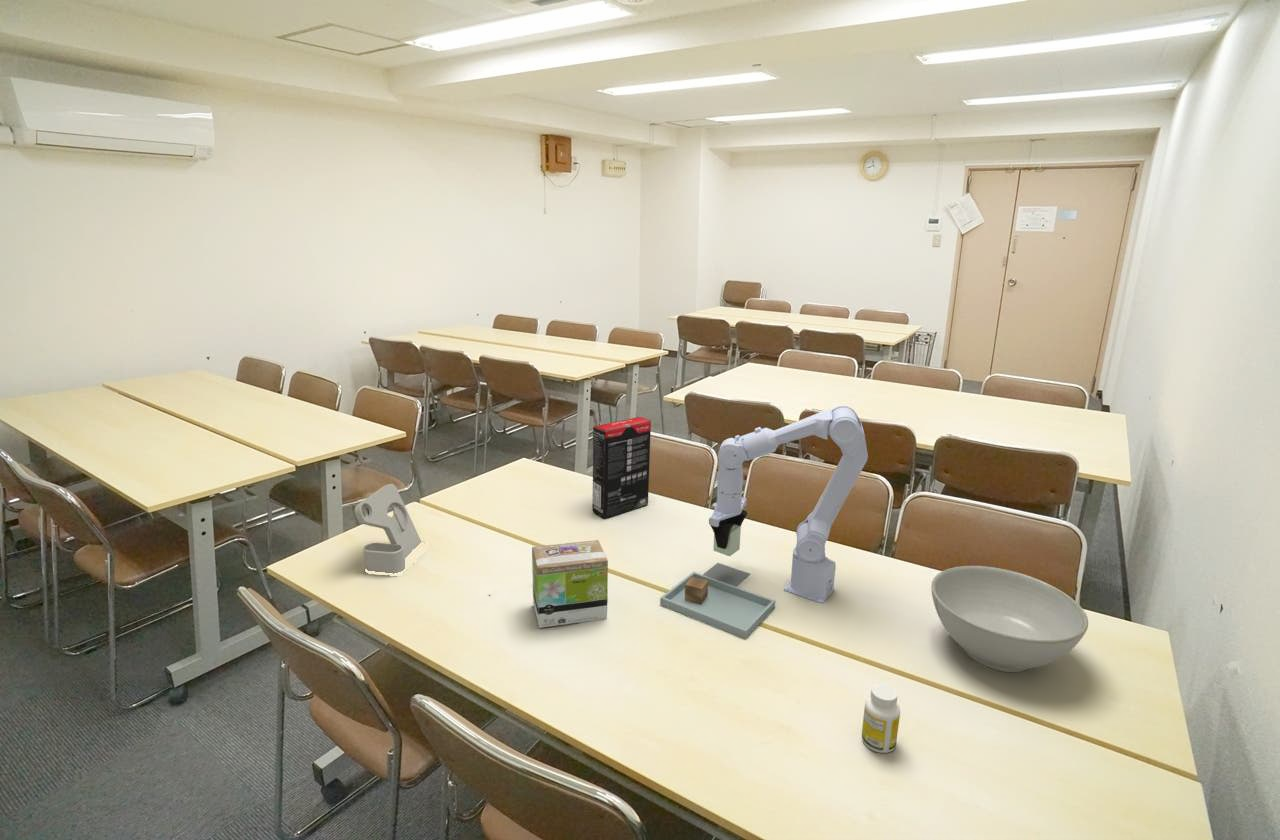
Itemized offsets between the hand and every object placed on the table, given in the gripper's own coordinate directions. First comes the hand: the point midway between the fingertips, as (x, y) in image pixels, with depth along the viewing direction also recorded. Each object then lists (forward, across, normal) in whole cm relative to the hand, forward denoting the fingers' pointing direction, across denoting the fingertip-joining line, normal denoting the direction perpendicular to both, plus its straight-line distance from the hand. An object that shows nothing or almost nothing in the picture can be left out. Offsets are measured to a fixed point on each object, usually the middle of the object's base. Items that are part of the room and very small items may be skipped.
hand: (726, 543), depth 154 cm
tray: (+9, +12, +4) cm, 16 cm away
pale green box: (+2, 0, 0) cm, 2 cm away
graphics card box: (+10, -18, -44) cm, 49 cm away
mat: (+9, -1, 0) cm, 9 cm away
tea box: (+10, +33, -21) cm, 40 cm away
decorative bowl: (+10, -7, +58) cm, 59 cm away
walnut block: (+9, +12, -1) cm, 15 cm away
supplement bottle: (+10, +31, +45) cm, 56 cm away
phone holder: (+10, +40, -72) cm, 83 cm away
